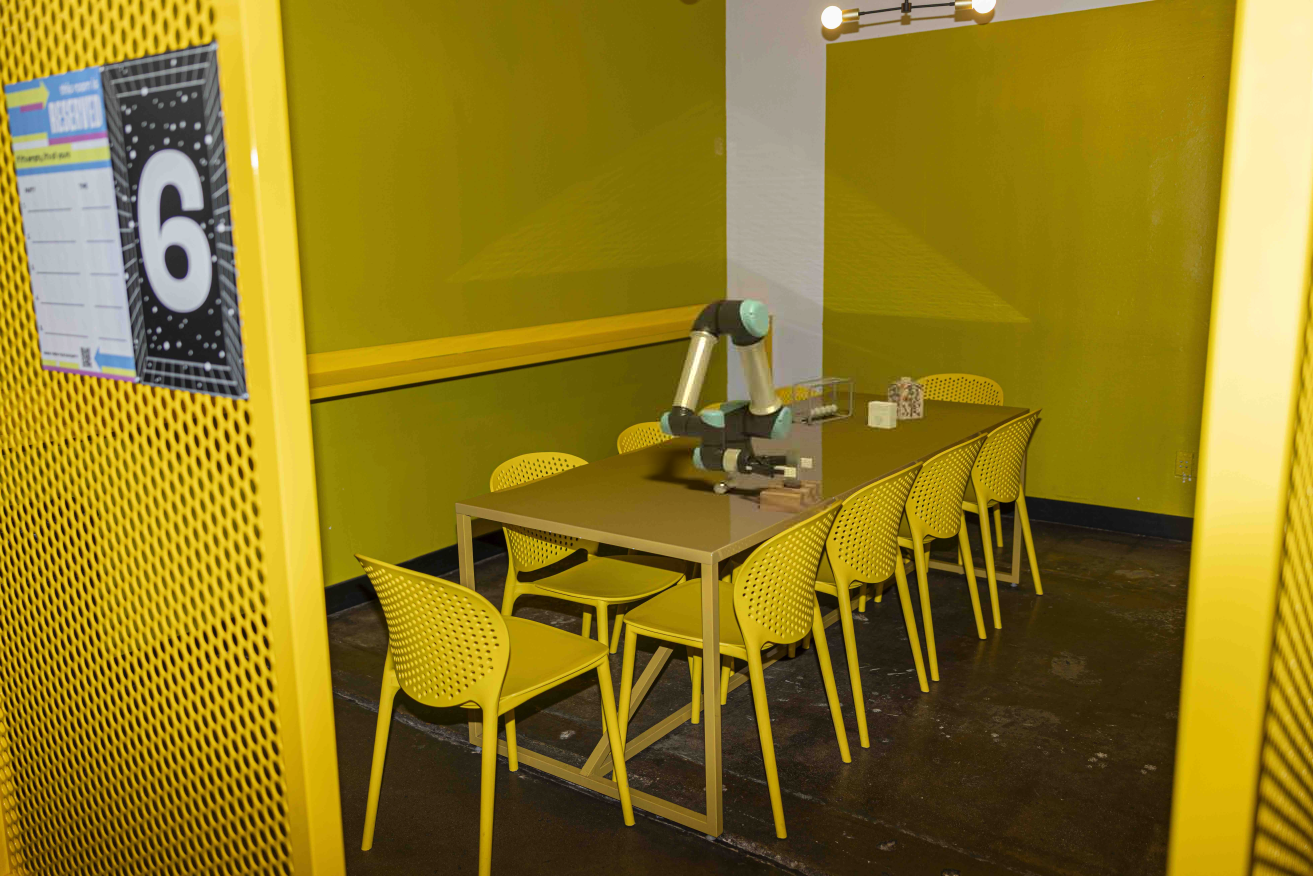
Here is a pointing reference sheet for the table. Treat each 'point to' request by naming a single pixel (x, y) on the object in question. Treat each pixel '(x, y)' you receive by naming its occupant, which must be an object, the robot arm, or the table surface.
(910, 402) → the decorative jar
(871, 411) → the skincare box
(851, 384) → the newton's cradle
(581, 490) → the table surface
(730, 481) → the round bit
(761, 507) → the holder block
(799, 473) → the square bit
